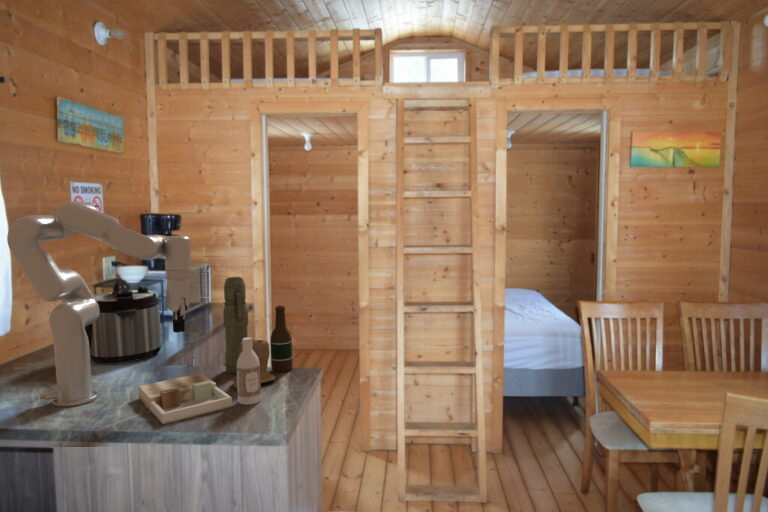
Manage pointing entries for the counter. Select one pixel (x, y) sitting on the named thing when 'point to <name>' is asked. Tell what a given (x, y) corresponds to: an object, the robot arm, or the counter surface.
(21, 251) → the robot arm
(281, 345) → the beer bottle
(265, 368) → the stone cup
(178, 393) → the walnut tile
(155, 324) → the pressure cooker
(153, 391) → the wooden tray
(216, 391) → the box
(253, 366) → the bath foam
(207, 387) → the sage tile
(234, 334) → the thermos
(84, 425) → the counter surface
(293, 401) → the counter surface
